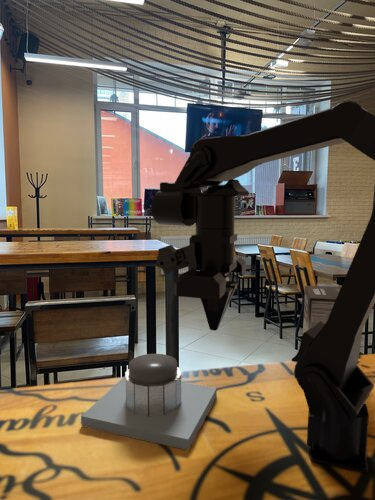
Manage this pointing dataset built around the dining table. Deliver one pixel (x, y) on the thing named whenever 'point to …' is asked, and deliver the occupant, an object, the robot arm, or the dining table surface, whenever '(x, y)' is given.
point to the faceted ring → (153, 396)
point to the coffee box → (318, 304)
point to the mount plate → (153, 428)
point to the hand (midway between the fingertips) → (213, 329)
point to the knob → (153, 369)
